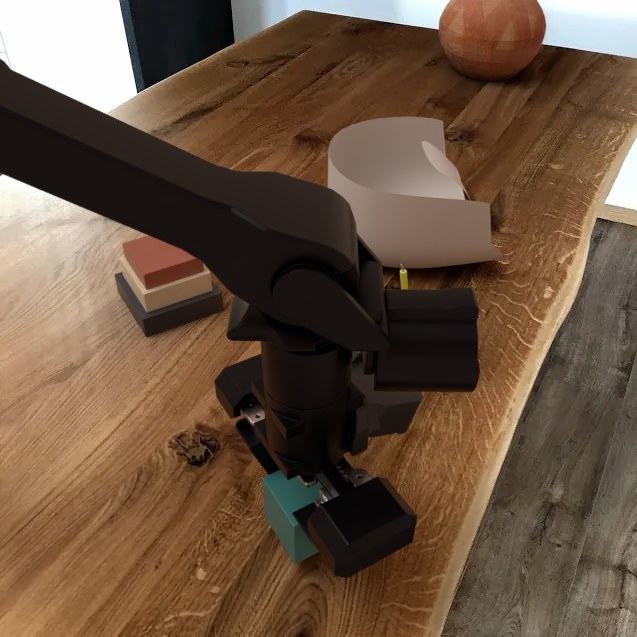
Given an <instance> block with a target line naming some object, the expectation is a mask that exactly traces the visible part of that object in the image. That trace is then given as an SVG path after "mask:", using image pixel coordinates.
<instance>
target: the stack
mask: <svg viewBox="0 0 637 637" xmlns="http://www.w3.org/2000/svg"><path fill="white" fill-rule="evenodd" d="M121 244H122V245H121V246H122V250H123V254H124V255H123V256H119V263H120V268H121V271H120V272H117V273H114V279H115V283H116V284H115V285H116V288H117V293H118V294H119V296H120V297H121V299H122V300H123V302H124V304H125V305H126V307H127V309H128V310H129V312H130V314H131V315H132V317H133V318H134V320H135V322H136V323H137V325H138V327H139V328H140V330H141V331H142V333H143V335H144V337H146V338H147V337H151V336H153V335H156V334H159V333H162V332H164V331H167V330H170V329H173V328H176V327H178V326H181V325H185V324H187V323H190V322H194V321H195V320H199V319H201V318H204V317H207V316H211V315H213V314H216V313H218V312H221V311H223V310H224V303H223V294H222V293H223V292H222V291H221V289H219V287H218V286H217V284H216V283H215V282H214V281H213V279H212V274H211V273H212V272H211V271H210V270H209V269H208V268H207V267H206V266H205V264H204V263H202V262H201V261H200V260H198V259H197V258H195V257H193V256H192V255H190V254H188V253H187V252H185V251H183V250H181V249H179V248H177V247H174V246H172V245H170V244H167V243H165V242H163V241H160V240H158V239H155V238H153V237H151V236H148V235H146V236H142V237H140V238H135V239H132V240H129V241H125V242H122V243H121Z"/></svg>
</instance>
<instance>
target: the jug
mask: <svg viewBox="0 0 637 637" xmlns="http://www.w3.org/2000/svg"><path fill="white" fill-rule="evenodd" d="M546 30H547V20H546V15H545V13H544V10H543V7H542V6H541V4H540V2H539V1H538V0H449V1H448V3H447V4H446V6H445V7H444V9H443V10H442V13H441V15H440V16H439V19H438V35H439V36H438V37H439V42H440V45H441V48H442V50H443V52H444V53H445V55H446V57H447V59H448V60H449V62H450V63H451V65H452V66H453V68H454V69H455V70H456V71H457V72H458V73H459V74H461V75H463V76H466V77H467V78H470V79H474V80H478V81H479V80H480V81H484V82H485V81H487V82H488V81H489V82H490V81H491V82H496V81H497V82H498V81H505V80H509V79H511V78H514V77H515V76H516V75H518V74H519V73H520V72H521V71H523V69H524V68H525V67H526V66H528V65H529V64H530V63H531V62H532V61H533V59H534V58H535V57H536V56H537V55H538V53H539V51H540V50H541V47H542V45H543V42H544V39H545V36H546V32H547V31H546Z"/></svg>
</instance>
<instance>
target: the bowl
mask: <svg viewBox="0 0 637 637" xmlns="http://www.w3.org/2000/svg"><path fill="white" fill-rule="evenodd" d="M444 130H445V128H444V120H442V119H438V118H432V117H424V116H391V117H380V118H379V117H378V118H374V119H373V118H372V119H368V120H364V121H359V122H356V123H353V124H351V125H350V124H349V125H348V126H346V127H344V128H341V129H340V130H339V131H338V132H337V133H336V134H334V136H333V137H332V138H331V140H330V142H329V145H328V151H327V152H328V153H327V155H328V156H327V187H328V188H330V189H332V190H334V191H336V192H337V193H338V194H340V195H341V196H343V197H344V198H345V199H346V201H347V202H348V203H349V204H350V206H351V210H352V212H353V215H354V218H355V221H356V228H357V234H358V235H359V236H360V237H361V238H362V240H363V241H364V242H365V243H366V244H367V246H368V247H369V248H370V249H371V250H372V251H373V253H374V254H375V255H376V256H377V257H378V259H379V260H380V261H381V262H382V267H387V268H396V269H401V265H400V264H402V265H403V269H430V268H432V269H433V268H441V267H451V266H452V267H453V266H460V265H468V264H475V263H482V262H489V261H490V262H491V261H498V260H503V258H504V254H503V252H502V251H501V250H500V249H499V248H497V247H496V246H494V245H492V224H491V223H492V222H491V221H492V220H491V203H489V202H484V201H477V200H472V199H471V198H470V195H469V193H468V192H467V190H466V188H465V186H464V185H463V183H462V179H461V175H460V173H459V170H458V168H457V167H456V165H455V164H454V163H453V162H452V161H451V160H450V159H449V158H448V157H447V155H446V154H447V153H446V142H445V141H446V140H445V131H444ZM464 192H465V194H466V195H467V197H468V198H469V200H468V199H466V197H465V194H464Z"/></svg>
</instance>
